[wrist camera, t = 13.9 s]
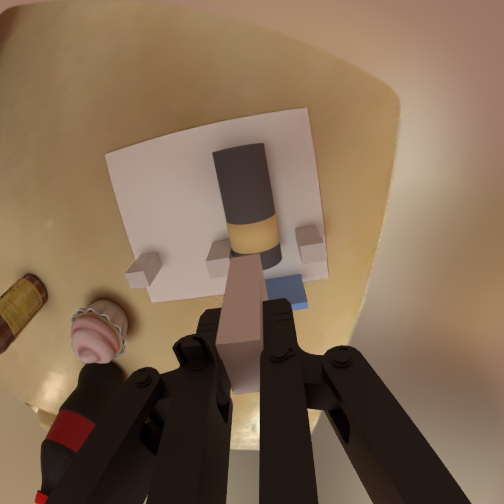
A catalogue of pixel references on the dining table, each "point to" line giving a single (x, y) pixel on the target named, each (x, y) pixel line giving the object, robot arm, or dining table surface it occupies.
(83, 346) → the cupcake
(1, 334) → the sauce bottle
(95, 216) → the dining table surface
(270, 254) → the banded cylinder post
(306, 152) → the white base plate
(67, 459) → the cola bottle
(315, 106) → the dining table surface
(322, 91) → the dining table surface
